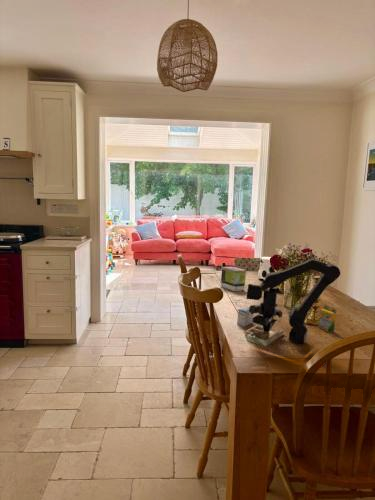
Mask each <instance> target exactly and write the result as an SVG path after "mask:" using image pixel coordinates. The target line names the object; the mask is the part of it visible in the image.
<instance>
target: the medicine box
mask: <svg viewBox="0 0 375 500" xmlns="http://www.w3.org/2000/svg"><path fill="white" fill-rule="evenodd" d="M249 308H250V306H247V305H246V306H244V307H240V308H239V309H237V310H238V311H237V323H236V324H237V325H239V326H242V327H246V326H249V325H251V324H253V322H252V320H253V317H254V314H251V313H250V311H249Z"/></svg>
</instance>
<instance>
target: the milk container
mask: <svg viewBox="0 0 375 500" xmlns="http://www.w3.org/2000/svg"><path fill="white" fill-rule="evenodd" d="M271 257H272V256H271ZM271 257H270V256H261V257H260V260H259V269H258V271H257V277H258V279H259V278H260V280H261V279H263V280H262V281H264V280H265V277H266V275H267V274H269V273H272V272H275V271H274V270H273V269H272V267H271V265H270V258H271Z"/></svg>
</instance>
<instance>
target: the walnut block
mask: <svg viewBox="0 0 375 500" xmlns="http://www.w3.org/2000/svg"><path fill="white" fill-rule="evenodd" d="M269 334H270V332H266V331H263V330H259V331H257V332H255V334H254V336H255V337H256V338H260V339H263V340H266V339H268V338H269Z"/></svg>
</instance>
